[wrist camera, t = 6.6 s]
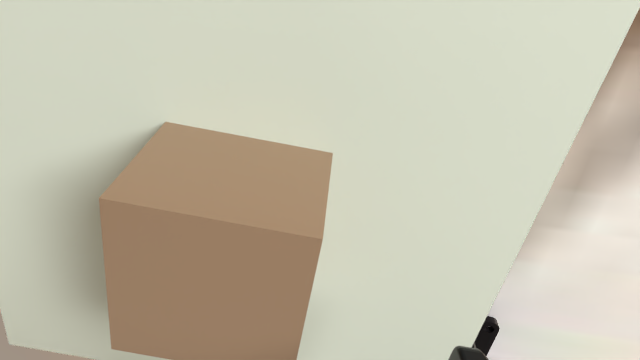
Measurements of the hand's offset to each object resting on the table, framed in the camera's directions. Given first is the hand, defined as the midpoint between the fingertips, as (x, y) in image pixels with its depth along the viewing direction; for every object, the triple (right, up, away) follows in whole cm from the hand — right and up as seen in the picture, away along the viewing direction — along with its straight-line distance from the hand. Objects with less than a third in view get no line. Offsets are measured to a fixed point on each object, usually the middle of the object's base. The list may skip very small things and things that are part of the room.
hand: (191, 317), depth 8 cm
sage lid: (0, +2, +4) cm, 4 cm away
